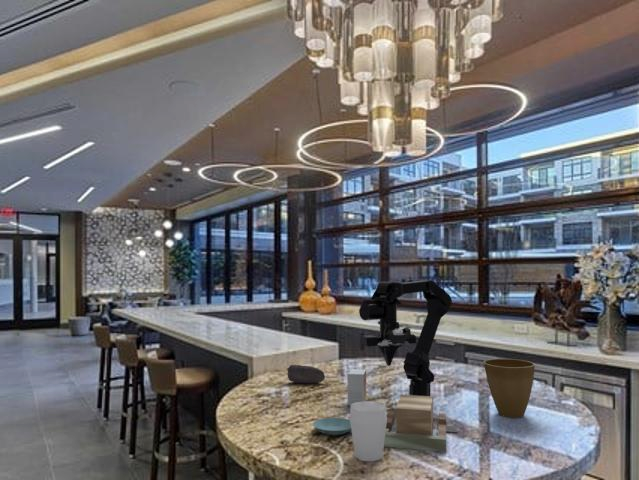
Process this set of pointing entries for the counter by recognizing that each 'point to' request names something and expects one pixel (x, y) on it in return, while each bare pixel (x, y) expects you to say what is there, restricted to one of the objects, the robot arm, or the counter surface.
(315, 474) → the counter surface
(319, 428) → the saucer
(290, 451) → the counter surface
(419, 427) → the walnut block
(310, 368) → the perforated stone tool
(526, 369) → the plant pot
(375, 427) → the cup
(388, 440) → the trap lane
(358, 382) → the small box
